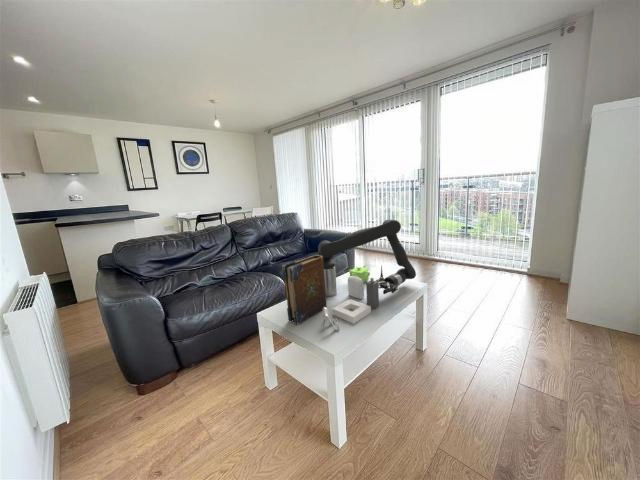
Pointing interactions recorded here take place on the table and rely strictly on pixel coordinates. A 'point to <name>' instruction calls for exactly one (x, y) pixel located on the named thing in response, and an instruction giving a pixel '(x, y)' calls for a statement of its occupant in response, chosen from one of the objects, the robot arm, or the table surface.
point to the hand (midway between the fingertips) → (377, 290)
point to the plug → (372, 294)
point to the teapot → (360, 273)
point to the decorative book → (304, 288)
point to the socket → (351, 310)
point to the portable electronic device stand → (326, 317)
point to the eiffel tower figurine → (381, 276)
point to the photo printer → (355, 287)
